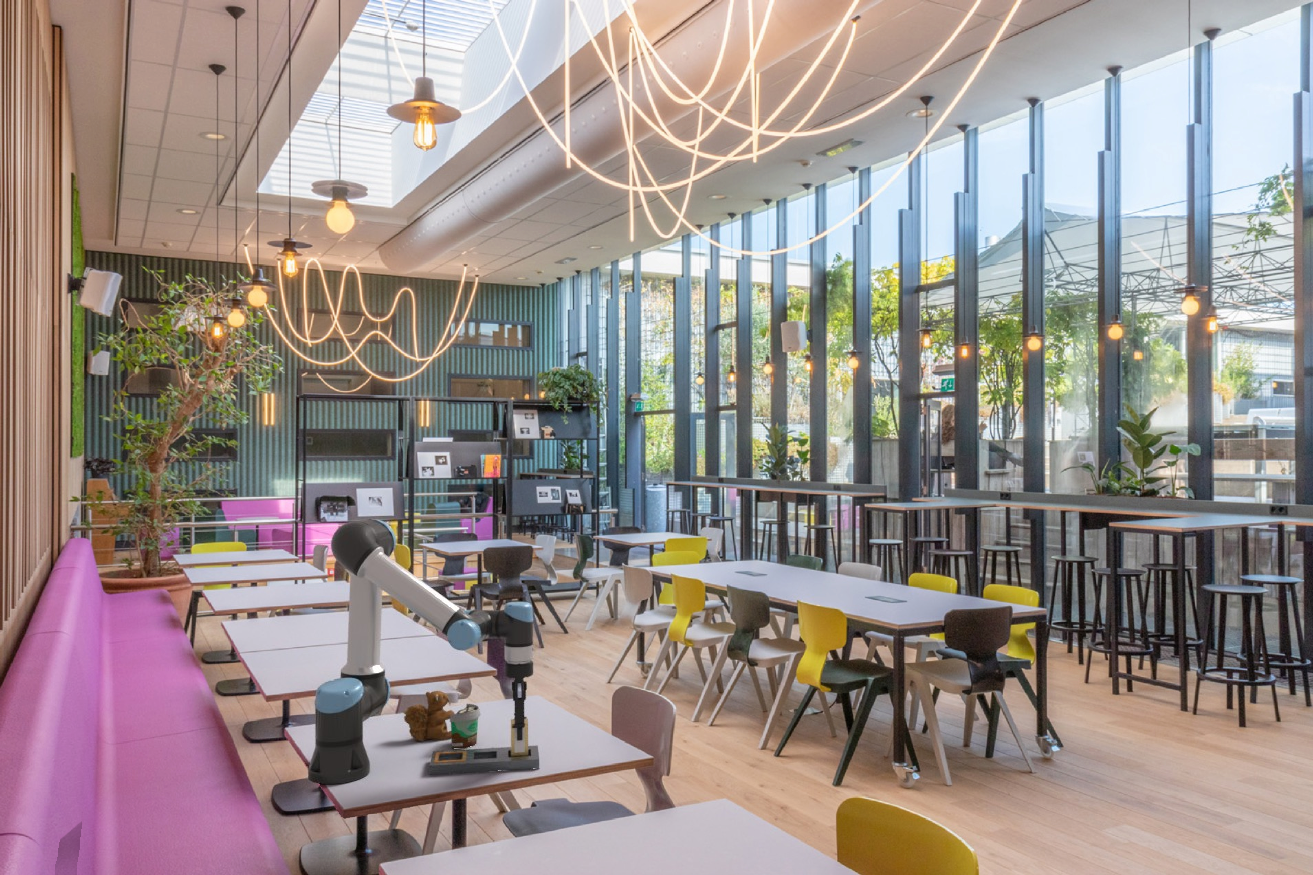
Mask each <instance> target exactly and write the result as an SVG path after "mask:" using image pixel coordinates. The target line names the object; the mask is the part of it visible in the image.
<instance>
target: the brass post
mask: <svg viewBox="0 0 1313 875" xmlns="http://www.w3.org/2000/svg"><path fill="white" fill-rule="evenodd" d="M524 723H525V752H516V753H515V749H514V728H512V726H514V725H515V719H514V718H511V719H510V747H511V757H524V756H528V746H529V719H528V718H527V719H524Z"/></svg>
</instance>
